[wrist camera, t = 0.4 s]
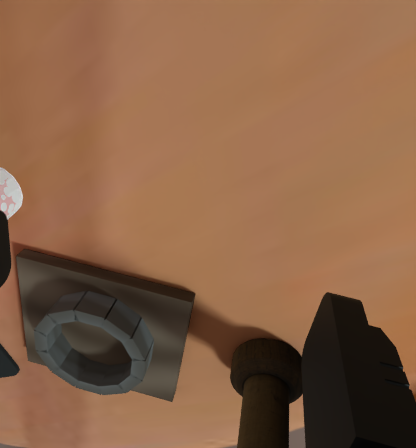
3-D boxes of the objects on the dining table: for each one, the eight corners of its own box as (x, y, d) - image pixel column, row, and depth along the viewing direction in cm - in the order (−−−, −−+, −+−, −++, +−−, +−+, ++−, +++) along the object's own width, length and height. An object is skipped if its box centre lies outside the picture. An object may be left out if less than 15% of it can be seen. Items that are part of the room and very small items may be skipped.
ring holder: (24, 248, 34) (-3, 273, 31) (195, 293, 33) (185, 323, 30) (34, 352, 41) (13, 380, 38) (175, 391, 40) (165, 424, 37)
